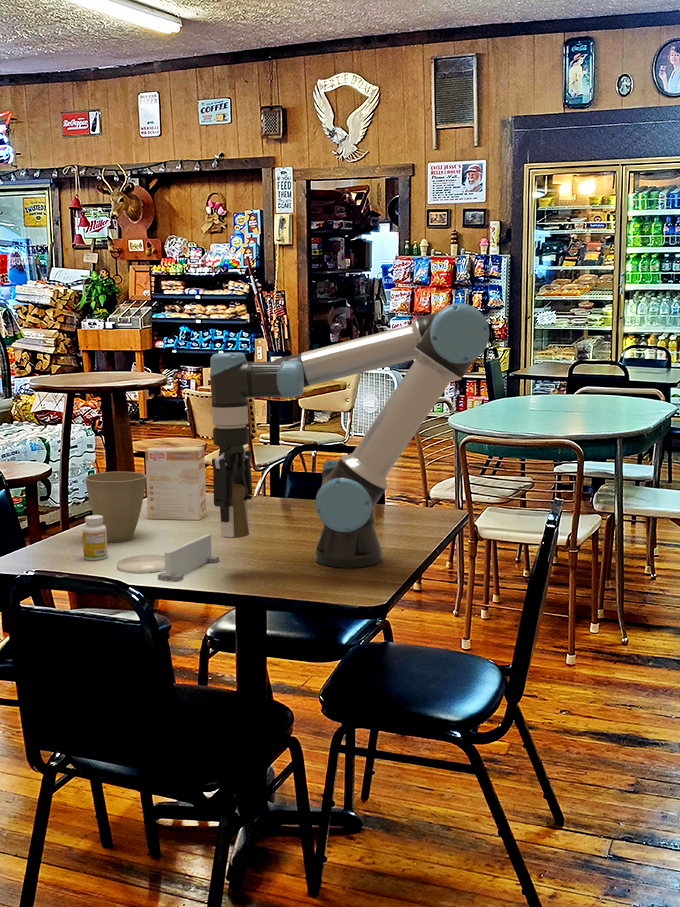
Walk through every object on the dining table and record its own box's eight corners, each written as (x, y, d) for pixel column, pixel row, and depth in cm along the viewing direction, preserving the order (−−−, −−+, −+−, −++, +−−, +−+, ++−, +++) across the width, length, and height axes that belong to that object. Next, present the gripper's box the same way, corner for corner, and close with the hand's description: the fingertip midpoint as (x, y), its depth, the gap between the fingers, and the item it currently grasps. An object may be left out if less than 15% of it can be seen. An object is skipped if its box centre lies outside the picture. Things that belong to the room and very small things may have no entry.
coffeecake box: (207, 515, 269) (205, 446, 266) (199, 520, 262) (197, 449, 259) (155, 514, 271) (153, 445, 269) (147, 519, 264) (144, 449, 262)
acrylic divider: (219, 560, 220) (218, 535, 219) (178, 581, 203) (177, 554, 202) (199, 559, 222) (199, 533, 221) (157, 579, 205) (156, 552, 204)
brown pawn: (215, 536, 206) (213, 486, 204) (231, 530, 211) (229, 481, 210) (239, 539, 203) (236, 487, 202) (254, 532, 208) (252, 482, 207)
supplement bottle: (89, 554, 227) (87, 514, 225) (111, 555, 226) (109, 514, 224) (79, 560, 221) (77, 518, 220) (102, 561, 221) (100, 519, 219)
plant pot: (98, 548, 232) (95, 483, 230) (80, 536, 245) (77, 474, 242) (157, 540, 240) (155, 477, 238) (136, 529, 253) (134, 469, 250)
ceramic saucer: (186, 560, 220) (186, 557, 220) (156, 575, 208) (155, 571, 208) (137, 556, 225) (137, 552, 225) (105, 570, 213) (105, 566, 213)
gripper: (235, 420, 214) (239, 522, 217) (192, 431, 196) (197, 542, 200) (265, 421, 211) (269, 524, 214) (225, 432, 194) (230, 544, 197)
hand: (235, 532), depth 207 cm, fingers closed on brown pawn, 6 cm apart
